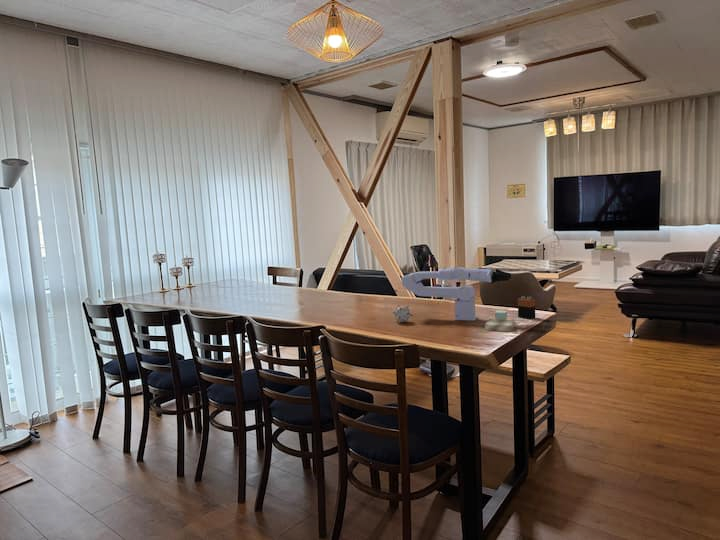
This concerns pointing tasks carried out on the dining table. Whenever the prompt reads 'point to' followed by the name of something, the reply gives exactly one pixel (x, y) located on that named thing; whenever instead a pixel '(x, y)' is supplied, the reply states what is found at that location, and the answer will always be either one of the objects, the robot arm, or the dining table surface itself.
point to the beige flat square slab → (500, 325)
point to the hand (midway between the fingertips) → (509, 276)
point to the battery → (526, 307)
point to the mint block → (501, 315)
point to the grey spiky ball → (402, 314)
